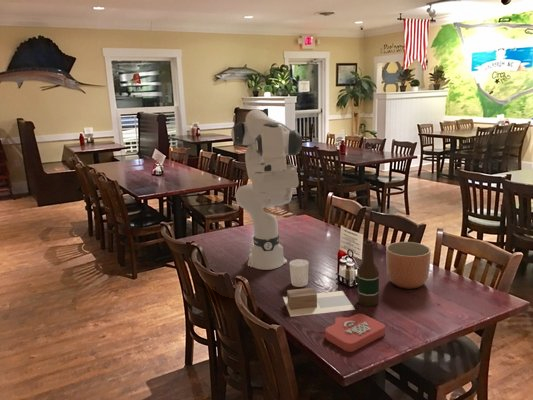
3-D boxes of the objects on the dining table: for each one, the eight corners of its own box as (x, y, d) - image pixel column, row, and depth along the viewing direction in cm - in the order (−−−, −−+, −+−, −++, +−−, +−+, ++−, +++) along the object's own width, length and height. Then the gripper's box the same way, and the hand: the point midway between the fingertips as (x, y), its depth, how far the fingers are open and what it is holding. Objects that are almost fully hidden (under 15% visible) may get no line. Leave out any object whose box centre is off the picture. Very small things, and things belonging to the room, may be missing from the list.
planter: (384, 274, 195) (385, 241, 192) (426, 276, 192) (427, 242, 188) (386, 291, 179) (387, 255, 175) (432, 293, 176) (433, 257, 172)
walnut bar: (287, 302, 172) (287, 290, 171) (313, 299, 174) (313, 287, 172) (290, 309, 167) (290, 297, 165) (317, 306, 168) (316, 294, 167)
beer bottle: (353, 300, 173) (353, 240, 168) (370, 295, 176) (370, 237, 171) (365, 308, 166) (365, 247, 161) (382, 304, 169) (383, 243, 164)
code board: (282, 298, 177) (282, 296, 177) (342, 292, 180) (342, 290, 180) (290, 318, 162) (290, 316, 162) (355, 311, 165) (355, 309, 165)
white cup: (286, 285, 189) (285, 263, 186) (298, 279, 194) (297, 257, 192) (301, 290, 184) (300, 267, 181) (312, 284, 189) (312, 261, 187)
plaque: (354, 307, 160) (387, 324, 149) (354, 317, 161) (387, 334, 150) (316, 324, 150) (349, 343, 139) (316, 334, 151) (349, 354, 140)
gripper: (290, 163, 181) (292, 197, 183) (248, 168, 169) (251, 204, 171) (301, 163, 176) (303, 198, 178) (258, 168, 164) (261, 205, 166)
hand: (277, 201), depth 174 cm, fingers open, 8 cm apart
